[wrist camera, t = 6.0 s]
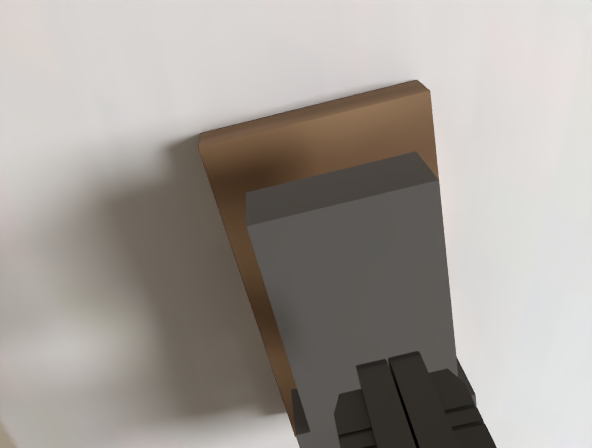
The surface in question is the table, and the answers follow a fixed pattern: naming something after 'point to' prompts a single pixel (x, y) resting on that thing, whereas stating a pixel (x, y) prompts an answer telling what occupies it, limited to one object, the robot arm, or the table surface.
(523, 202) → the table surface
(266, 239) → the grey roller bracket
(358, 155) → the post stand
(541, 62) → the table surface
